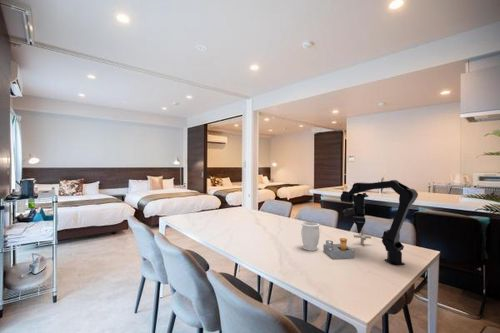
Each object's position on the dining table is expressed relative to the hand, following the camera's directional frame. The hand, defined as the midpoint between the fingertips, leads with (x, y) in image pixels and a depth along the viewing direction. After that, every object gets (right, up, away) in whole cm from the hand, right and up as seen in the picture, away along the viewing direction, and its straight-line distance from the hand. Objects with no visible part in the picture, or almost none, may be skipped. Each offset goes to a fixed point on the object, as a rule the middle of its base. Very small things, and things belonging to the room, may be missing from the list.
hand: (358, 231), depth 138 cm
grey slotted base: (-14, -12, -5) cm, 19 cm away
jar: (-27, -12, +5) cm, 30 cm away
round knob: (-11, -10, -6) cm, 17 cm away
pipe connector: (+8, -12, +14) cm, 20 cm away
